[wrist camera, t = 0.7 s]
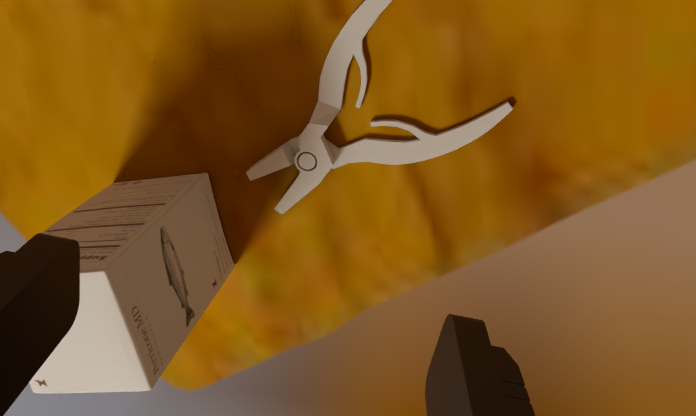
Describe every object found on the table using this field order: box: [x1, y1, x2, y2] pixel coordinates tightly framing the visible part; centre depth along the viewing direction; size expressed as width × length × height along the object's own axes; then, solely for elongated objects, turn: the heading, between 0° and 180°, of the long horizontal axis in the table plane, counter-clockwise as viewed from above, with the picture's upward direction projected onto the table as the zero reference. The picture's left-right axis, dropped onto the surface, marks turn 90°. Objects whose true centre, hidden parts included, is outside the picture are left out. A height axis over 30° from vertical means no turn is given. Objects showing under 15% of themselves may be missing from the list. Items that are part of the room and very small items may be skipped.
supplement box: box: [17, 173, 234, 393], centre depth 34 cm, size 7×7×13 cm
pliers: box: [246, 0, 513, 214], centre depth 34 cm, size 10×2×15 cm
